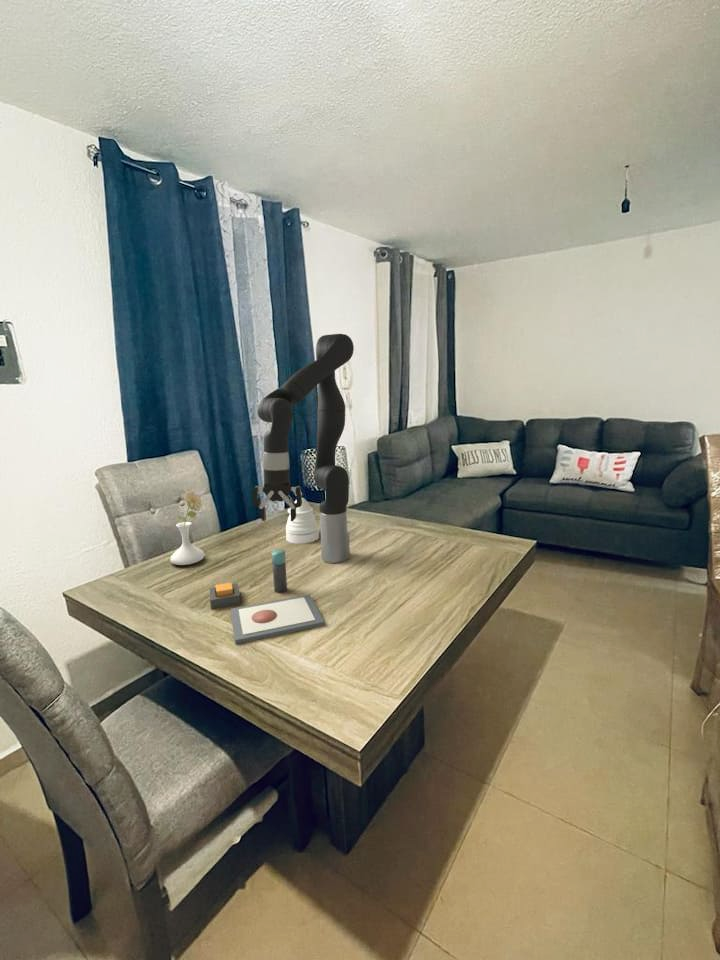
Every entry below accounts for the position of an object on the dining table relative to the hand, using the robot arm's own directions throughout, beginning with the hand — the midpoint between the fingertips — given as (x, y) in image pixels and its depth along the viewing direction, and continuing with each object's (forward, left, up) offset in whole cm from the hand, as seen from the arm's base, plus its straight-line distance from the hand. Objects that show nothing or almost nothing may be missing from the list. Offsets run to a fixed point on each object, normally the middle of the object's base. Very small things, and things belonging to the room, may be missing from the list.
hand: (278, 520), depth 133 cm
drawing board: (+5, +21, -20) cm, 29 cm away
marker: (+1, +5, -20) cm, 21 cm away
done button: (+17, +5, -18) cm, 26 cm away
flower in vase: (+27, -30, -21) cm, 46 cm away
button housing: (+17, +5, -20) cm, 27 cm away
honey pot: (-15, -37, -21) cm, 45 cm away
